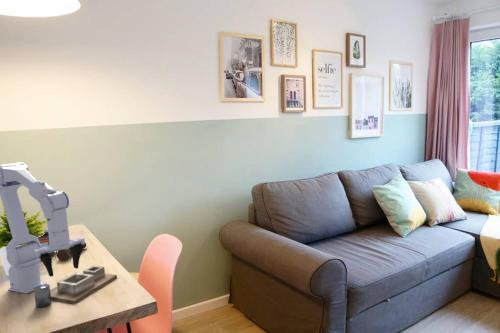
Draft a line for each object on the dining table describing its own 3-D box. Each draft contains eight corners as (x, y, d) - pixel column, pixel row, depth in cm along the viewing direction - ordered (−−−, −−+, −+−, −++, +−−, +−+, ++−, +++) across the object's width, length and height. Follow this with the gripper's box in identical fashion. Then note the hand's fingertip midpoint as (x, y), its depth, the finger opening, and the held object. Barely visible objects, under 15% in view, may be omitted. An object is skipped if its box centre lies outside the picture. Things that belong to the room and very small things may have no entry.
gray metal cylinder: (32, 307, 118) (30, 289, 117) (44, 300, 122) (42, 283, 121) (43, 309, 116) (40, 291, 115) (54, 302, 120) (52, 285, 119)
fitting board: (41, 297, 124) (40, 286, 123) (86, 273, 142) (86, 263, 142) (74, 303, 119) (73, 291, 119) (116, 277, 138) (116, 267, 137)
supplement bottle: (43, 254, 165) (40, 229, 163) (57, 253, 165) (54, 228, 164) (36, 259, 159) (33, 233, 157) (51, 258, 159) (48, 232, 158)
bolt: (86, 252, 171) (64, 264, 156) (76, 246, 171) (54, 258, 156) (91, 241, 170) (69, 252, 155) (81, 236, 170) (59, 246, 155)
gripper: (37, 238, 110) (43, 282, 112) (86, 226, 121) (91, 267, 122) (30, 234, 115) (35, 277, 117) (77, 223, 126) (82, 262, 127)
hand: (63, 271), depth 120 cm, fingers open, 7 cm apart
